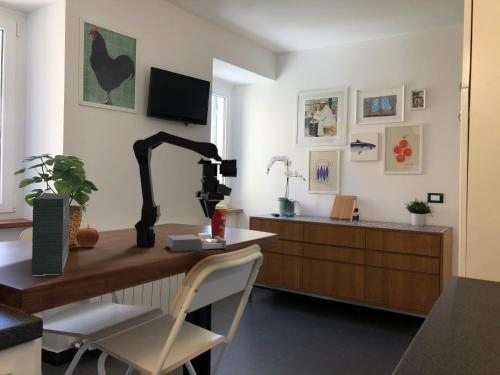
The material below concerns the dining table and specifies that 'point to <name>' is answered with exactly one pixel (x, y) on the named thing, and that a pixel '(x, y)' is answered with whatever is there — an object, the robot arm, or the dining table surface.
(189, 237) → the block
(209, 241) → the disc
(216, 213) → the paper cup
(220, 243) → the tray
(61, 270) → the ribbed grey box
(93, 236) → the apple
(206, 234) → the riser
